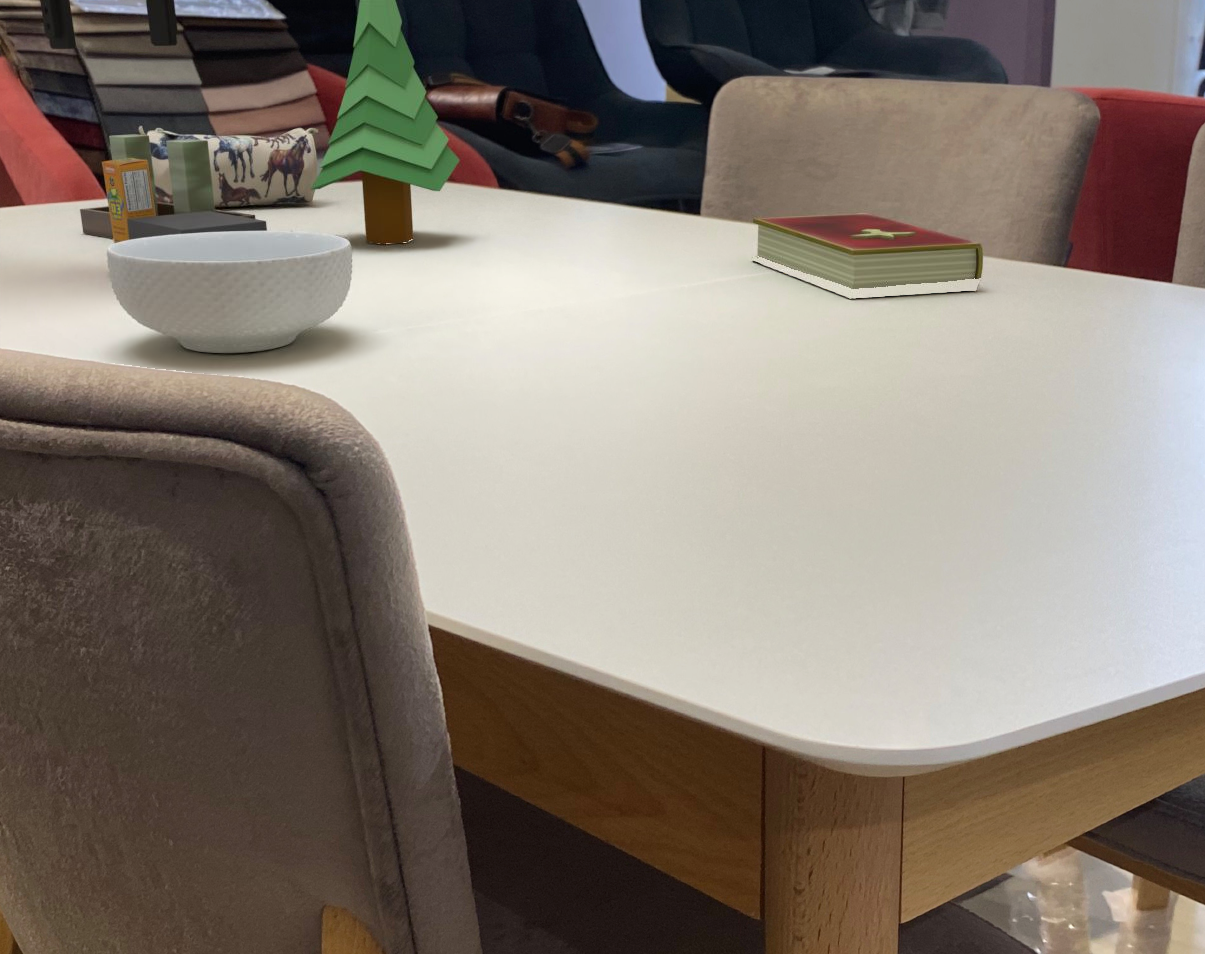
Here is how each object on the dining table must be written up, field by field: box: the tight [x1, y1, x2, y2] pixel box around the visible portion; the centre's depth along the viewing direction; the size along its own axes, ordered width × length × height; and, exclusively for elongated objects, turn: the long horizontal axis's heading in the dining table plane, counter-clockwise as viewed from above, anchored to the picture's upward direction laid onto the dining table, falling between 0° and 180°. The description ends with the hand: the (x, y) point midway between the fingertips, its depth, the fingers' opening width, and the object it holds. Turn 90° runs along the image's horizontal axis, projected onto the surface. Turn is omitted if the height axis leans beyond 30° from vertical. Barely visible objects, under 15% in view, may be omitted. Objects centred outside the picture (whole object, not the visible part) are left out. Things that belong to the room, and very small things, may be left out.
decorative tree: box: [310, 0, 461, 245], centre depth 145 cm, size 14×16×30 cm
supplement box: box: [101, 158, 156, 244], centre depth 131 cm, size 3×3×10 cm
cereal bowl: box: [106, 230, 353, 354], centre depth 102 cm, size 17×17×7 cm
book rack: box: [79, 133, 256, 240], centre depth 153 cm, size 9×19×10 cm, turn 48°
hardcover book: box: [752, 212, 984, 289], centre depth 128 cm, size 12×21×4 cm, turn 17°
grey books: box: [127, 211, 268, 240], centre depth 127 cm, size 10×11×5 cm
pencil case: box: [138, 125, 319, 209], centre depth 177 cm, size 22×8×10 cm, turn 106°
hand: (115, 47), depth 125 cm, fingers open, 9 cm apart
